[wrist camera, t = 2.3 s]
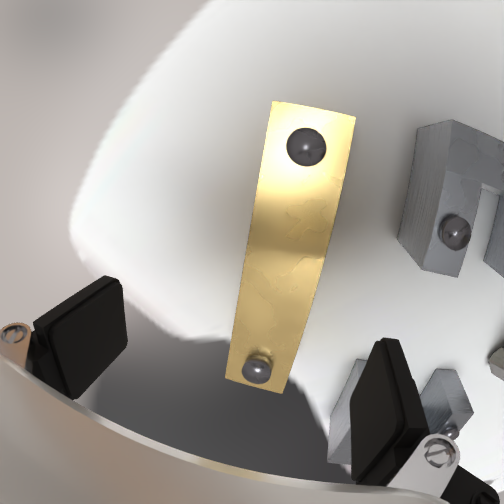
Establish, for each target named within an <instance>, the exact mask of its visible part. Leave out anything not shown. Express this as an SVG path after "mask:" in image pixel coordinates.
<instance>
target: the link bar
mask: <svg viewBox="0 0 504 504" xmlns="http://www.w3.org/2000/svg"><path fill="white" fill-rule="evenodd" d="M355 119H356V117H353V116H349V115H345V114H341V113H337V112H332V111H328V110H323V109H318V108H313V107H308V106H302V105H297V104H291V103H285V102H278V101H272V106H271V112H270V118H269V123H268V129H267V134H266V140H265V146H264V151H263V157H262V163H261V168H260V174H259V180H258V186H257V191H256V197H255V203H254V209H253V214H252V220H251V226H250V232H249V238H248V243H247V249H246V255H245V261H244V267H243V273H242V279H241V285H240V290H239V296H238V302H237V308H236V314H235V320H234V326H233V332H232V338H231V344H230V351H229V356H228V362H227V368H226V375H225V378H227V379H230V380H233V381H237V382H240V383H243V384H247V385H250V386H254V387H258V388H261V389H265V390H269V391H273V392H277V393H281V394H282V393H283V390H284V387H285V385H286V382H287V379H288V376H289V373H290V370H291V368H292V365H293V362H294V359H295V356H296V353H297V350H298V347H299V344H300V341H301V338H302V335H303V331H304V328H305V325H306V322H307V319H308V316H309V312H310V309H311V306H312V302H313V299H314V296H315V292H316V289H317V285H318V282H319V278H320V275H321V271H322V267H323V264H324V260H325V256H326V253H327V249H328V245H329V241H330V237H331V233H332V229H333V225H334V221H335V217H336V213H337V208H338V204H339V200H340V195H341V191H342V186H343V182H344V177H345V172H346V167H347V162H348V157H349V152H350V147H351V142H352V136H353V131H354V125H355Z"/></svg>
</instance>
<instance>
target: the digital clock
mask: <svg viewBox="0 0 504 504" xmlns="http://www.w3.org/2000/svg"><path fill="white" fill-rule="evenodd" d="M489 364H490V369H491V373H492V374H494V375H495V376H497V377H498V378H500V379H502V380H503V381H504V348H503V347H502V348H500V349H498V350H497V351H496V352H494V353H493V355H492V356H491V358H490V360H489Z"/></svg>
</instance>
